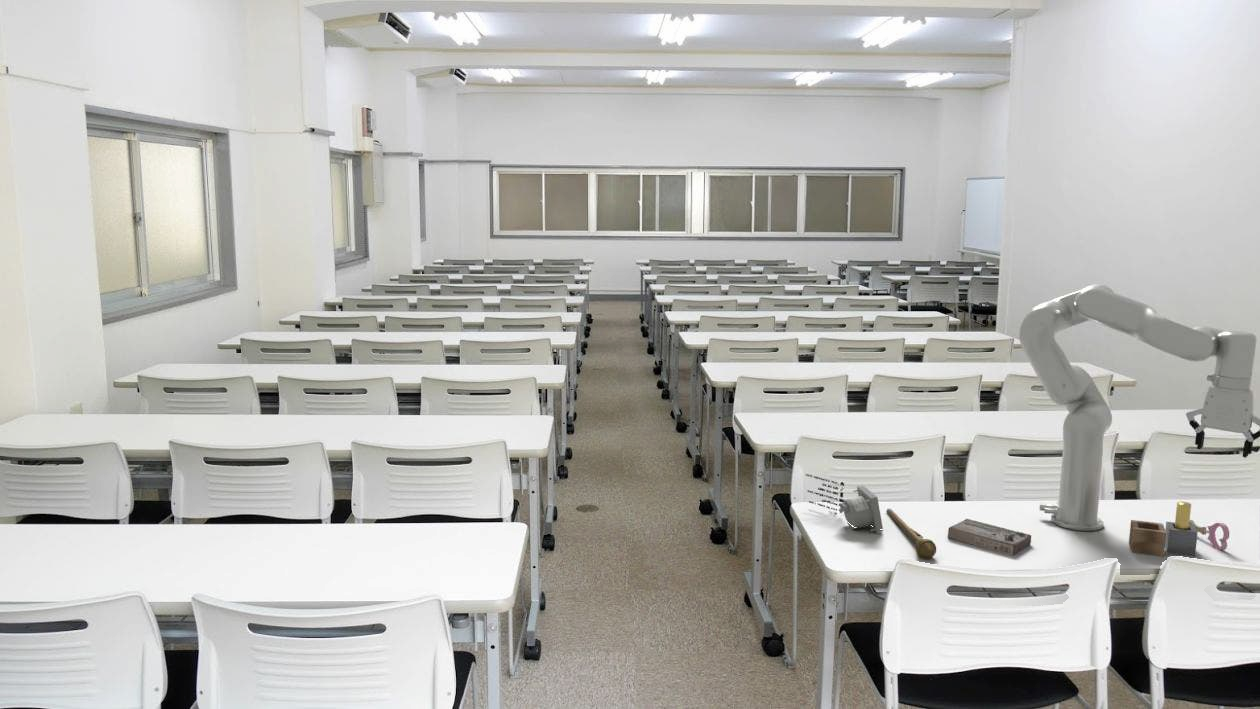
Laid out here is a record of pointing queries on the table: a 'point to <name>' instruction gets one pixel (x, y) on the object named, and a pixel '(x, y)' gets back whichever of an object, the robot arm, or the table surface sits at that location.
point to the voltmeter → (856, 507)
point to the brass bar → (1182, 515)
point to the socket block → (1180, 540)
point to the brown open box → (1147, 538)
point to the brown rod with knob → (916, 538)
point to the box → (989, 536)
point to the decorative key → (1212, 534)
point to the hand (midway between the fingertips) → (1222, 452)
